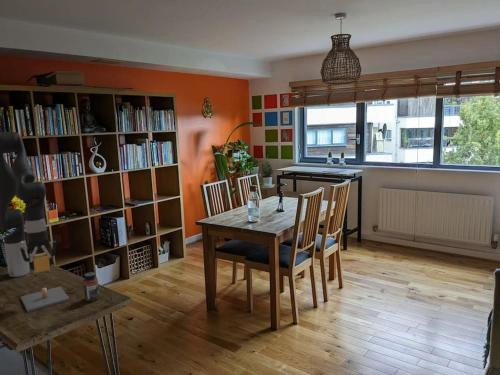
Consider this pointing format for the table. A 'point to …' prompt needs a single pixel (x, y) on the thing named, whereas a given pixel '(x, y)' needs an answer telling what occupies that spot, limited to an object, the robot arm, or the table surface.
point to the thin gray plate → (44, 298)
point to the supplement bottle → (91, 287)
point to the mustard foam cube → (41, 263)
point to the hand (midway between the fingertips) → (41, 267)
